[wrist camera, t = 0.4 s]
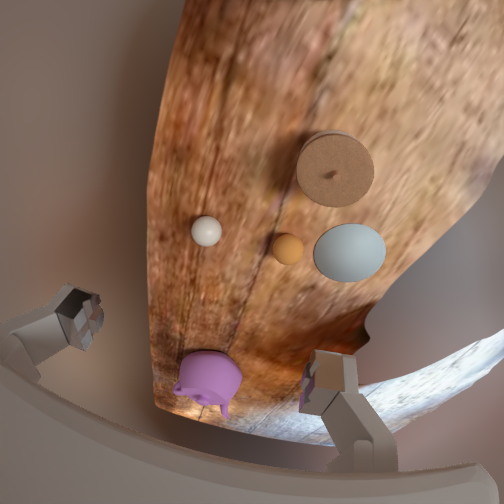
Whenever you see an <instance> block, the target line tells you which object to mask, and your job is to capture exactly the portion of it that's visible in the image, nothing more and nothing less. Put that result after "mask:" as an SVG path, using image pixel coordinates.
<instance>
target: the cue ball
mask: <svg viewBox="0 0 504 504" xmlns="http://www.w3.org/2000/svg"><path fill="white" fill-rule="evenodd" d="M221 233H222V230H221V225H220V223H219V222H218V221H217V220H216V219H215V218H213V217H210V216H203V217H200V218H198V219H197V220H196V221H195V222H194V223H193V225H192V229H191V234H192V237H193V239H194V241H195V242H196V243H197V244H199V245H201V246H212V245H214V244H215V243H217V242H218V240H219V239H220V237H221Z"/></svg>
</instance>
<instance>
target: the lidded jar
mask: <svg viewBox="0 0 504 504" xmlns="http://www.w3.org/2000/svg"><path fill="white" fill-rule="evenodd" d="M296 177H297V181H298V184H299V186H300V188H301V189H302V191H303V192H304V193H305V195H306V196H307V197H309V198H310V199H311V200H313V201H314V202H316V203H318V204H320V205H323V206H327V207H344V206H348V205H350V204H353V203H355V202H357V201H358V200H360V199H361V198H362V197H363V196H364V195H365V194H366V193H367V192H368V190H369V189H370V187H371V184H372V182H373V178H374V165H373V161H372V159H371V156H370V154H369V153H368V151H367V149H366V148H365V147H364V146H363V145H362V144H361V142H360V141H359V140H358V139H356V138H355V137H354V136H352V135H351V134H349V133H346V132H344V131H340V130H325V131H321V132H319V133H316V134H315V135H313V136H312V137H310V138H309V139H308V140H307V141H306V143H305V144H304V145H303V147H302V149H301V151H300V154H299V157H298V160H297V164H296Z"/></svg>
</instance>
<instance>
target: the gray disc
mask: <svg viewBox="0 0 504 504" xmlns="http://www.w3.org/2000/svg"><path fill="white" fill-rule="evenodd" d="M385 254H386V248H385V244H384V241H383V239H382V238H381V236H380V235H379V234H378V233H377V232H376V231H375V230H373V229H372V228H370V227H368V226H365V225H362V224H354V223H351V224H343V225H339V226H336V227H334V228H332V229H330V230H328V231H327V232H326V233H324V234H323V235H322V236H321V238H320V239H319V240H318V242H317V244H316V246H315V250H314V260H315V263H316V266H317V268H318V269H319V270H320V272H321V273H323V274H324V275H325V276H326V277H328V278H330V279H332V280H335V281H339V282H356V281H360V280H363V279H366V278H368V277H370V276H371V275H373V274H374V273H375V272H376V271H377V270H378V269H379V268H380V267H381V265H382V263H383V261H384V259H385Z"/></svg>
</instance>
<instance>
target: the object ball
mask: <svg viewBox="0 0 504 504" xmlns="http://www.w3.org/2000/svg"><path fill="white" fill-rule="evenodd" d="M303 251H304V248H303V244H302V242H301V240H300V239H299V238H298V237H297V236H295V235H292V234H284V235H282V236H280V237H278V238H277V239H276V241H275V242H274V245H273V254H274V257H275V258H276V260H277V261H278V262H280V263H282V264H284V265H292V264H295V263H297V262H298V261H299V260H300V259H301V257H302V255H303Z"/></svg>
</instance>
